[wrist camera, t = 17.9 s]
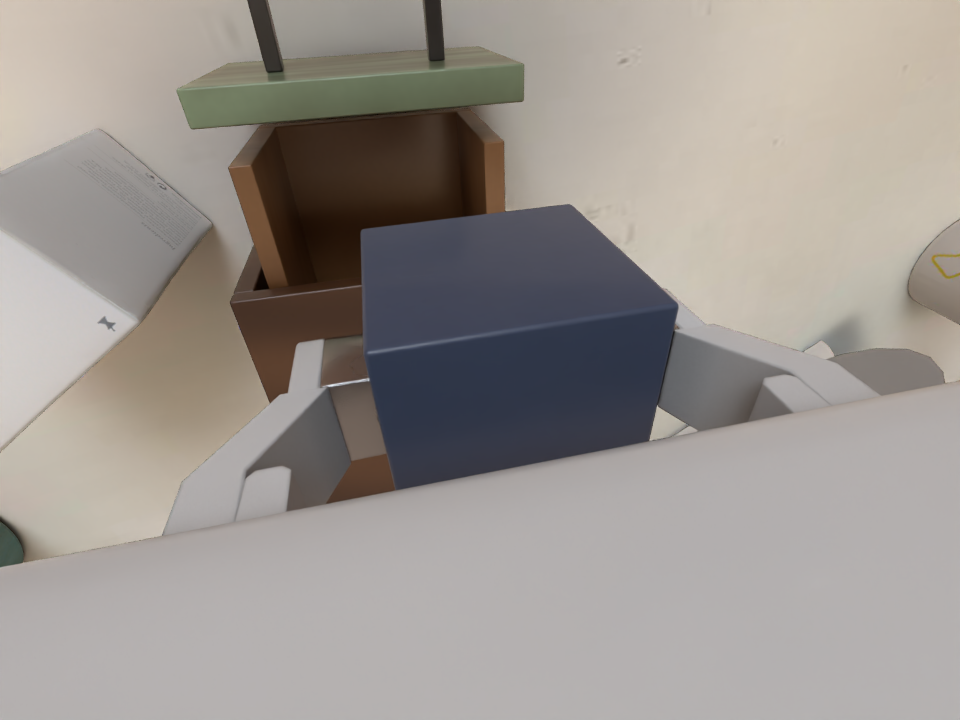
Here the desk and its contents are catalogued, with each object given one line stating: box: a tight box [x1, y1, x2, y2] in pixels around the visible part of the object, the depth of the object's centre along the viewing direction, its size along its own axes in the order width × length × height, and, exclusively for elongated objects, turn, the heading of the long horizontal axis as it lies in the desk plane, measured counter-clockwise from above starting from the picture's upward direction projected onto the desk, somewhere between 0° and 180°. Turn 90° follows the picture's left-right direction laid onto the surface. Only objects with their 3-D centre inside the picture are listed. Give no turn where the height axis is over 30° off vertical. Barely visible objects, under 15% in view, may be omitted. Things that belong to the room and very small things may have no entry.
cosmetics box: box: [0, 129, 213, 452], centre depth 21 cm, size 10×6×10 cm, turn 126°
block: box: [360, 204, 679, 491], centre depth 10 cm, size 4×4×4 cm
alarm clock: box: [674, 340, 945, 436], centre depth 40 cm, size 23×6×13 cm, turn 129°
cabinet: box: [230, 211, 506, 504], centre depth 28 cm, size 15×13×10 cm
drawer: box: [177, 0, 524, 289], centre depth 22 cm, size 18×11×8 cm, turn 2°
